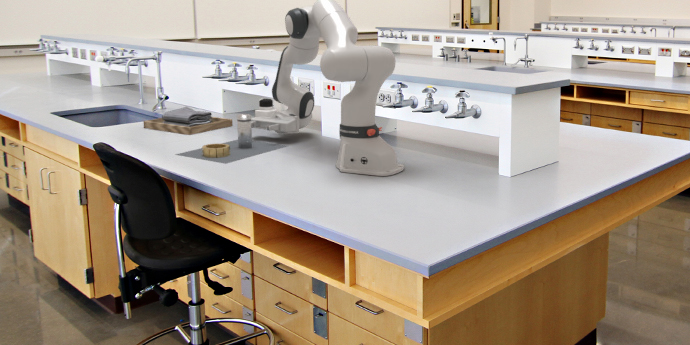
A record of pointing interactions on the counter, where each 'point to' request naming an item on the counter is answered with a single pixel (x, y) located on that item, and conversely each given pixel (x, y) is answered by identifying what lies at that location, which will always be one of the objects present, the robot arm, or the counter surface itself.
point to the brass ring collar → (216, 150)
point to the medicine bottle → (265, 108)
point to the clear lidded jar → (244, 131)
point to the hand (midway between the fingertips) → (258, 127)
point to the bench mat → (236, 151)
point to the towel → (186, 117)
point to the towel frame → (215, 124)
